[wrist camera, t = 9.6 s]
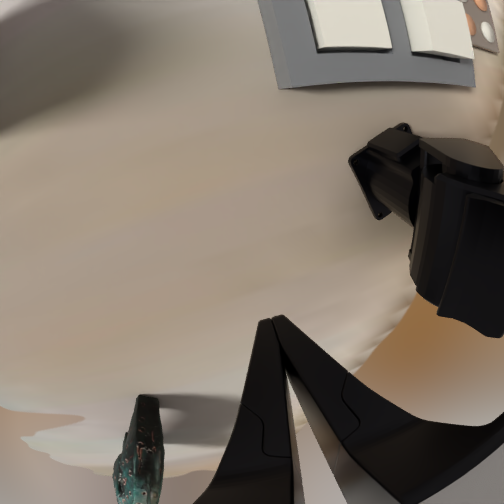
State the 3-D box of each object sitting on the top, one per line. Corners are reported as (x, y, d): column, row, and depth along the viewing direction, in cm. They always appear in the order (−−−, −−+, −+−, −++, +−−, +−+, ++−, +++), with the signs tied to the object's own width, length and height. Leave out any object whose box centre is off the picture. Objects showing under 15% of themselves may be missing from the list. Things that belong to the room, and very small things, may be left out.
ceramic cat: (147, 445, 40) (152, 542, 23) (113, 438, 38) (111, 536, 21) (172, 398, 32) (182, 545, 15) (123, 387, 30) (117, 538, 13)
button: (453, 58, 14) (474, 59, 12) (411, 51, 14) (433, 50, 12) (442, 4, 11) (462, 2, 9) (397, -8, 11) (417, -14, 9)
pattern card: (492, 52, 16) (501, 53, 14) (451, 39, 15) (461, 39, 14) (478, -9, 11) (486, -10, 10) (432, -30, 11) (440, -32, 10)
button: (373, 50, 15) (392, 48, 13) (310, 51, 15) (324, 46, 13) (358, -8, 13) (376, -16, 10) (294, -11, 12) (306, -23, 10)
